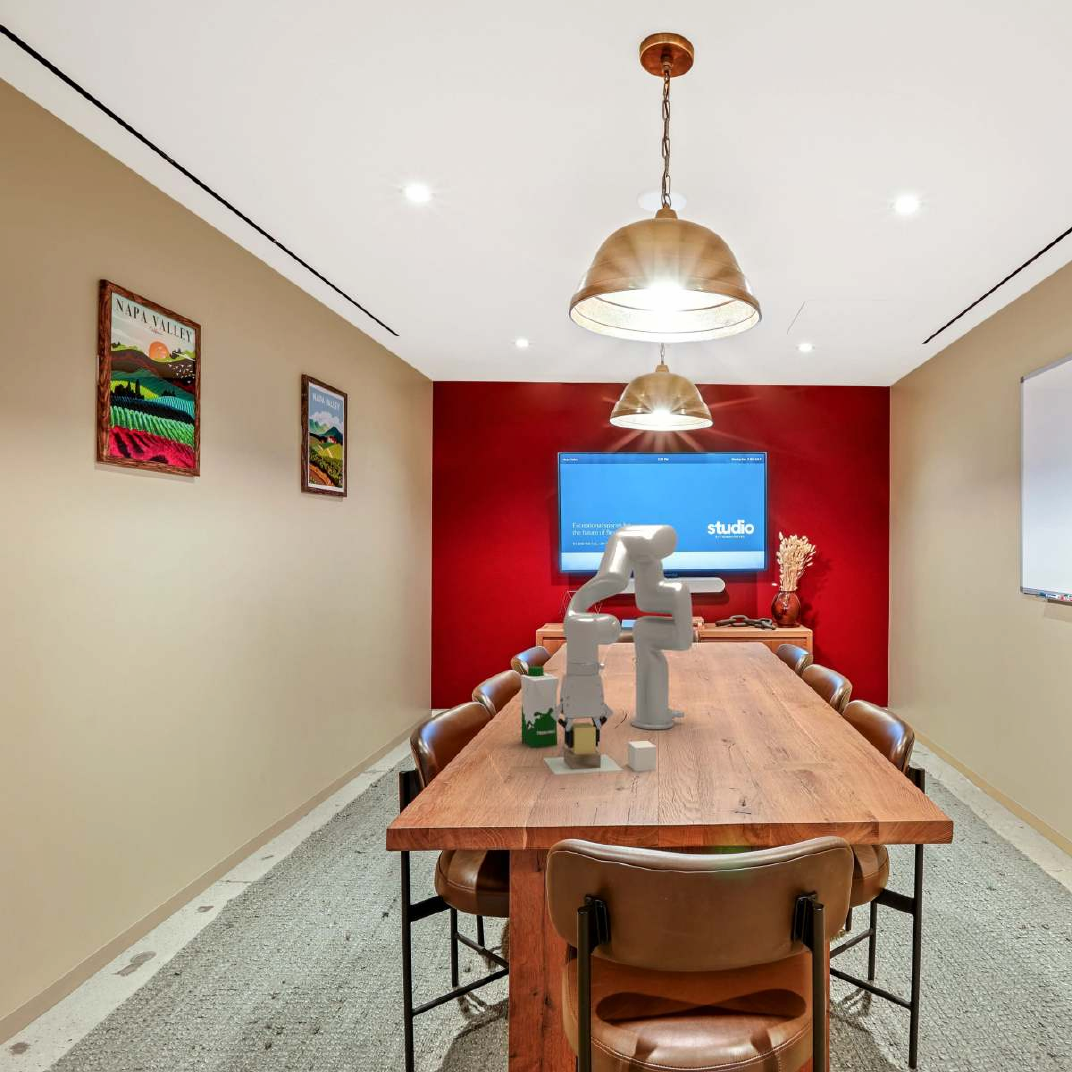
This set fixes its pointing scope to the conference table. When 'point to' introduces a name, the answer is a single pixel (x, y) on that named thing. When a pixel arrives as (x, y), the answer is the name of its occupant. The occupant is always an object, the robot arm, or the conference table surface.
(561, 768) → the plate
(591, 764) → the walnut base brick
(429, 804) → the conference table surface
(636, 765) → the cream brick
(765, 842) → the conference table surface
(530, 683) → the milk carton
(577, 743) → the mustard brick
